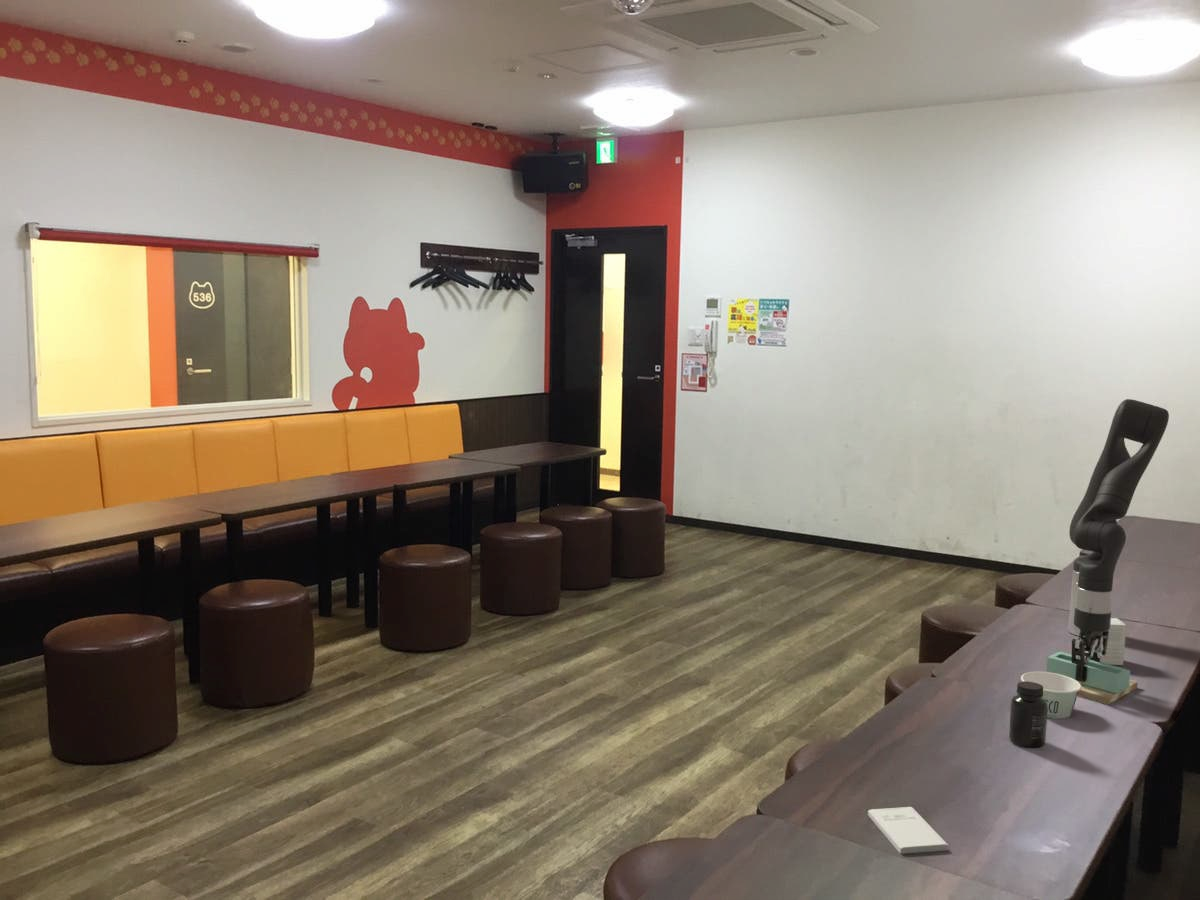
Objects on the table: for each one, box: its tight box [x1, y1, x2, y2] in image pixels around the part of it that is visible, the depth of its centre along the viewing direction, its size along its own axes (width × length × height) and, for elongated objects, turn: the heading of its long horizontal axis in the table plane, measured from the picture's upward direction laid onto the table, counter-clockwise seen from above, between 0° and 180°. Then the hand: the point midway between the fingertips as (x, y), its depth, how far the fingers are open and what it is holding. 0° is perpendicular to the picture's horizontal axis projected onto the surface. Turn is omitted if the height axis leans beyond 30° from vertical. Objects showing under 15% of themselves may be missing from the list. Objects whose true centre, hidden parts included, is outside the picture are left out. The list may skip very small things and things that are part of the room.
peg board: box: [1077, 679, 1139, 706], centre depth 228 cm, size 16×15×4 cm
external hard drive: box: [867, 806, 949, 855], centre depth 163 cm, size 2×8×12 cm
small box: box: [1085, 617, 1127, 666], centre depth 245 cm, size 8×6×10 cm
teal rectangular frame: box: [1046, 651, 1131, 694], centre depth 226 cm, size 16×6×4 cm, turn 40°
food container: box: [1020, 671, 1081, 719], centre depth 214 cm, size 12×12×6 cm
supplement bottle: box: [1008, 680, 1048, 750], centre depth 197 cm, size 7×7×12 cm
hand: (1087, 677), depth 227 cm, fingers closed on teal rectangular frame, 6 cm apart
